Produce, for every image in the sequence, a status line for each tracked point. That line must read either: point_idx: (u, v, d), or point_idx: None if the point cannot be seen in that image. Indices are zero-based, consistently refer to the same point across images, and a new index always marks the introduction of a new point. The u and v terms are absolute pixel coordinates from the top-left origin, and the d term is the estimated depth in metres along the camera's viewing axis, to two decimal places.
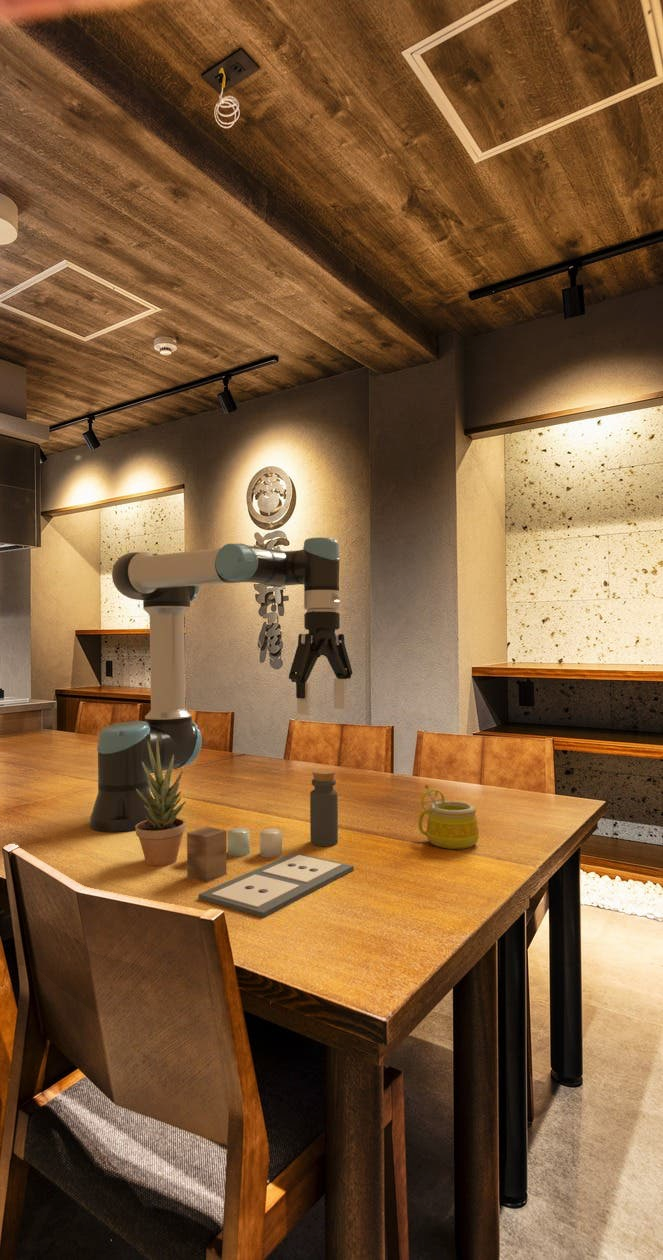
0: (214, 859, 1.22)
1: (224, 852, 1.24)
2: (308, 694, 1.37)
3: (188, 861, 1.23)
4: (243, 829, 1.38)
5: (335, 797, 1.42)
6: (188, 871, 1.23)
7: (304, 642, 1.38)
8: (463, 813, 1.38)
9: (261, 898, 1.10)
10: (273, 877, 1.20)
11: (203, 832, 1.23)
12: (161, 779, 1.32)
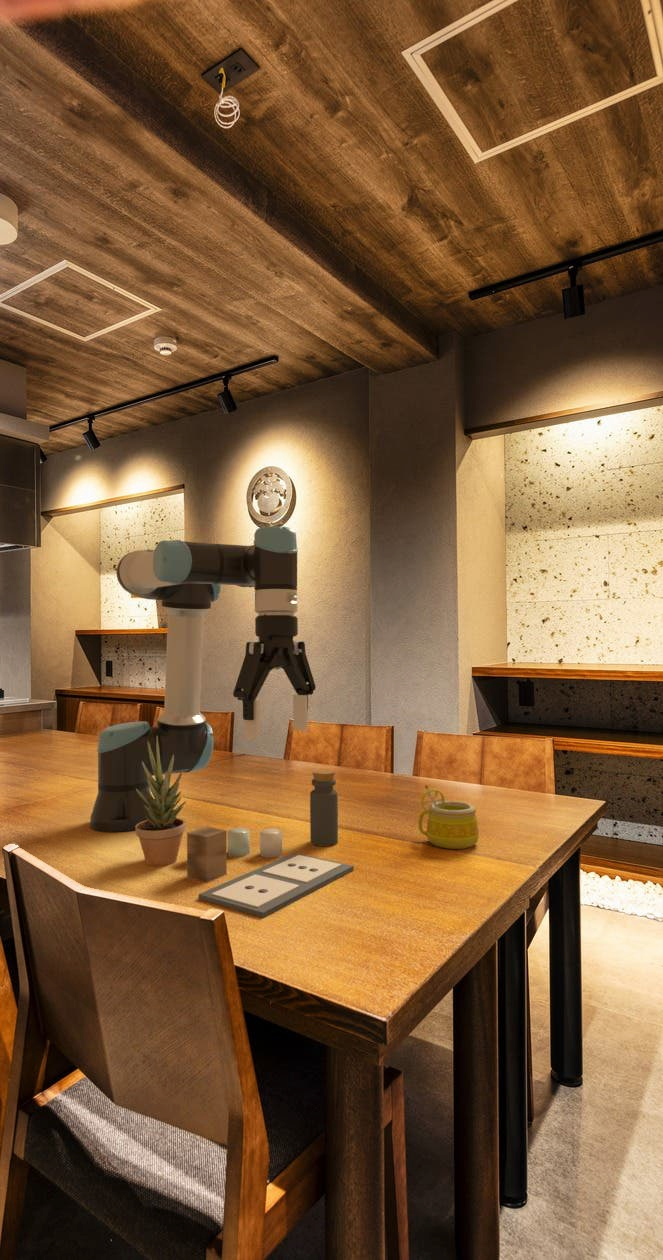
0: (214, 859, 1.22)
1: (224, 852, 1.24)
2: (257, 715, 1.13)
3: (188, 861, 1.23)
4: (243, 829, 1.38)
5: (335, 797, 1.42)
6: (188, 871, 1.23)
7: (252, 652, 1.14)
8: (463, 813, 1.38)
9: (261, 898, 1.10)
10: (273, 877, 1.20)
11: (203, 832, 1.23)
12: (161, 779, 1.32)
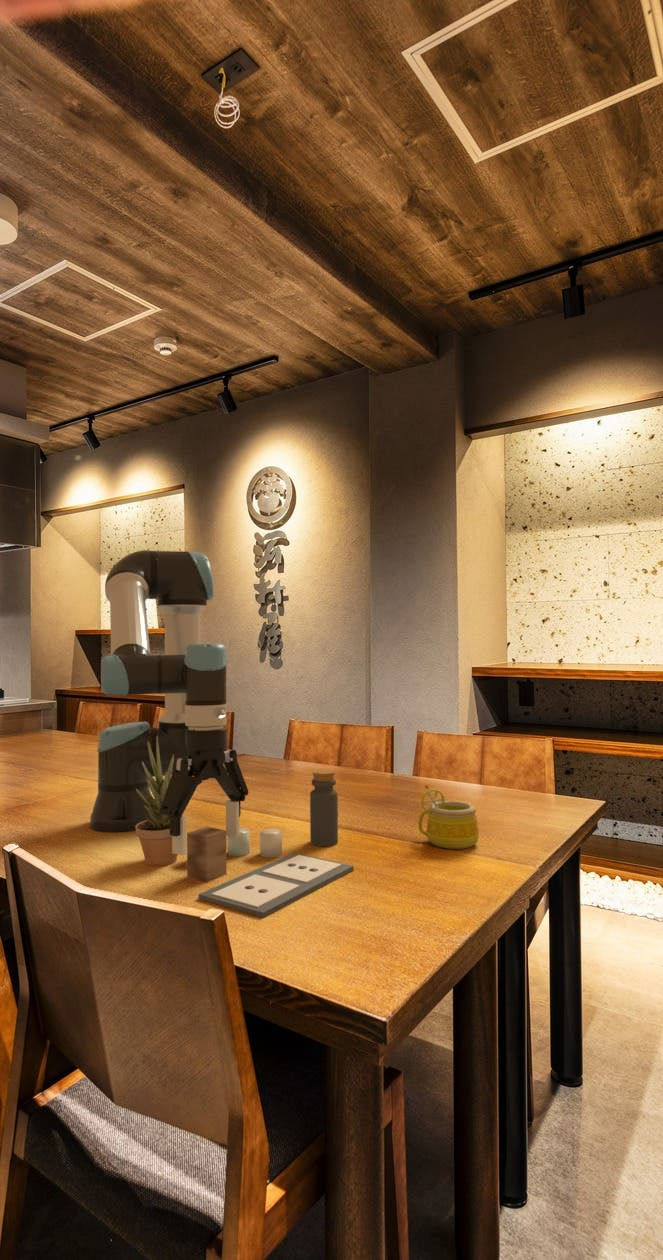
0: (214, 859, 1.22)
1: (224, 852, 1.24)
2: (183, 830, 1.17)
3: (188, 861, 1.23)
4: (243, 829, 1.38)
5: (335, 797, 1.42)
6: (188, 871, 1.23)
7: (179, 769, 1.18)
8: (463, 813, 1.38)
9: (261, 898, 1.10)
10: (273, 877, 1.20)
11: (203, 832, 1.23)
12: (161, 779, 1.32)
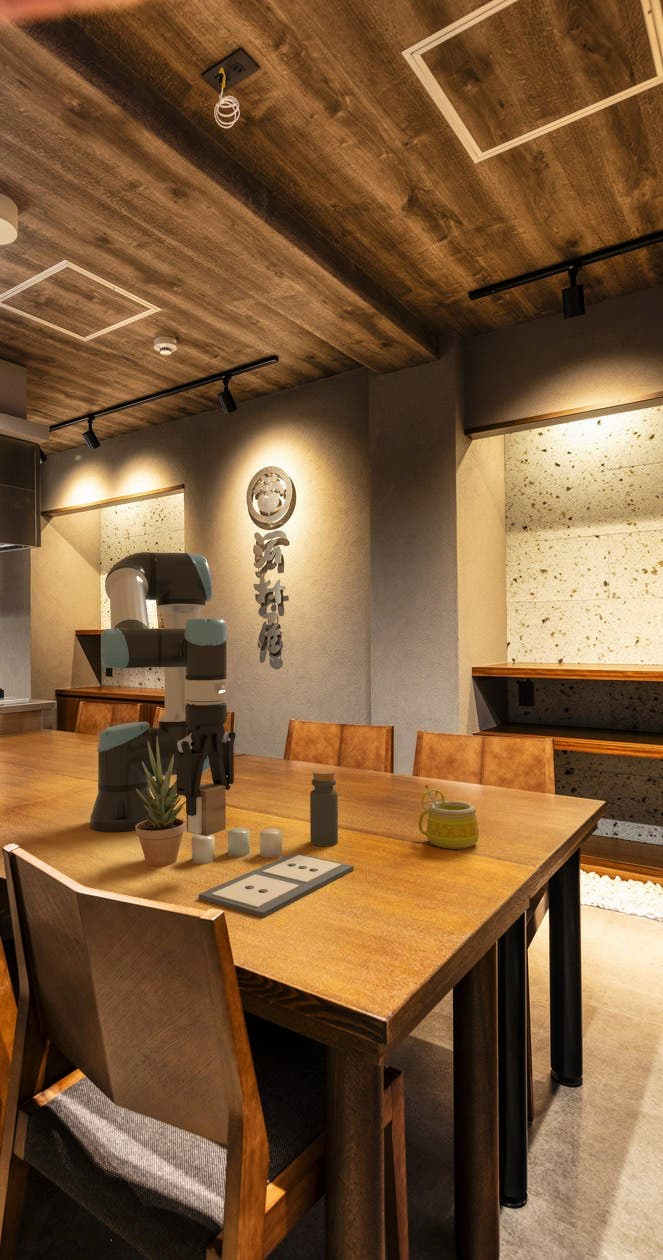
0: (213, 813, 1.23)
1: (223, 807, 1.25)
2: (199, 810, 1.21)
3: (187, 816, 1.24)
4: (243, 829, 1.38)
5: (335, 797, 1.42)
6: (187, 826, 1.24)
7: (182, 752, 1.19)
8: (463, 813, 1.38)
9: (261, 898, 1.10)
10: (273, 877, 1.20)
11: (202, 788, 1.24)
12: (161, 779, 1.32)
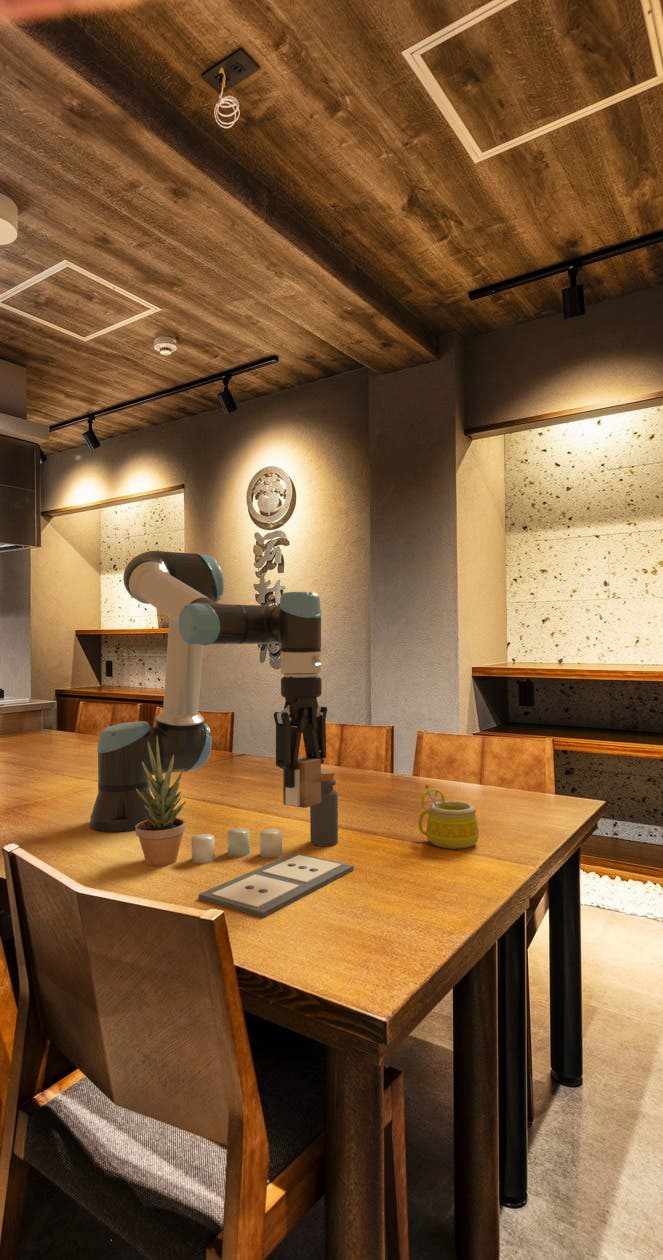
0: (311, 785, 1.23)
1: (319, 780, 1.25)
2: (298, 782, 1.22)
3: (284, 789, 1.24)
4: (243, 829, 1.38)
5: (335, 797, 1.42)
6: (284, 799, 1.24)
7: (282, 723, 1.20)
8: (463, 813, 1.38)
9: (261, 898, 1.10)
10: (273, 877, 1.20)
11: (299, 760, 1.24)
12: (161, 779, 1.32)
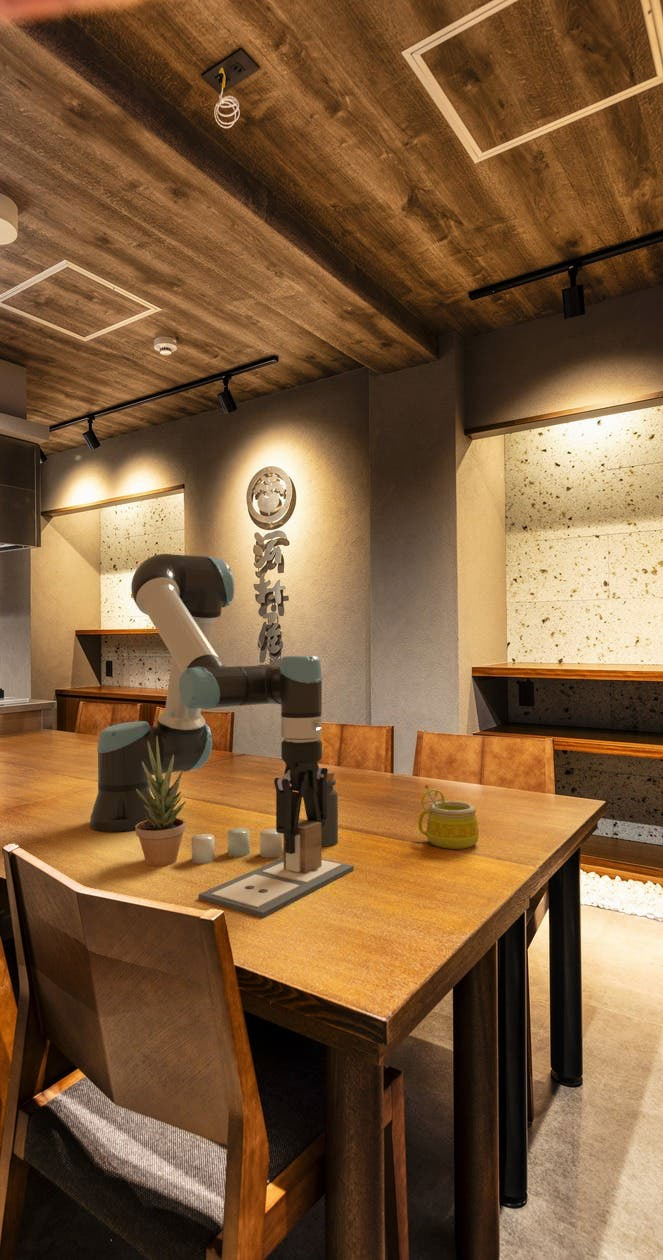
0: (311, 850, 1.23)
1: (319, 844, 1.25)
2: (298, 848, 1.22)
3: (284, 853, 1.24)
4: (243, 829, 1.38)
5: (335, 797, 1.42)
6: (285, 863, 1.24)
7: (282, 789, 1.20)
8: (463, 813, 1.38)
9: (261, 898, 1.10)
10: (273, 877, 1.20)
11: (299, 824, 1.24)
12: (161, 779, 1.32)
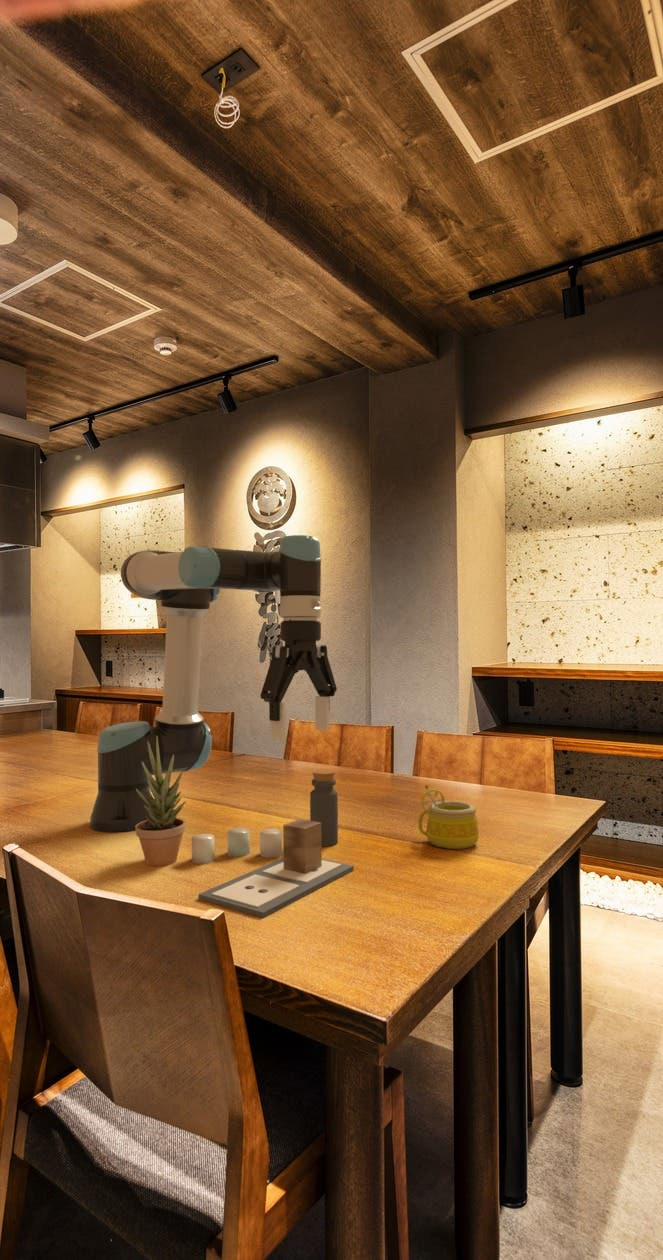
0: (311, 850, 1.23)
1: (319, 844, 1.25)
2: (283, 716, 1.19)
3: (284, 853, 1.24)
4: (243, 829, 1.38)
5: (335, 797, 1.42)
6: (285, 863, 1.24)
7: (279, 656, 1.20)
8: (463, 813, 1.38)
9: (261, 898, 1.10)
10: (273, 877, 1.20)
11: (299, 824, 1.24)
12: (161, 779, 1.32)
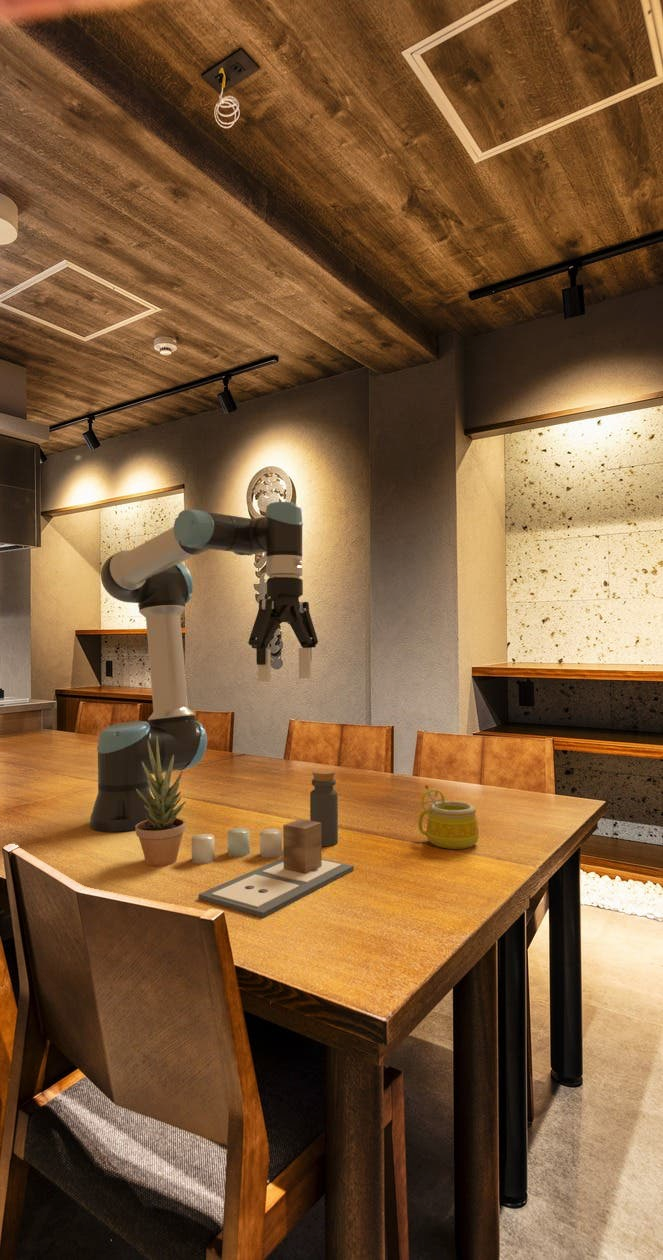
0: (311, 850, 1.23)
1: (319, 844, 1.25)
2: (268, 660, 1.34)
3: (284, 853, 1.24)
4: (243, 829, 1.38)
5: (335, 797, 1.42)
6: (285, 863, 1.24)
7: (265, 607, 1.35)
8: (463, 813, 1.38)
9: (261, 898, 1.10)
10: (273, 877, 1.20)
11: (299, 824, 1.24)
12: (161, 779, 1.32)
